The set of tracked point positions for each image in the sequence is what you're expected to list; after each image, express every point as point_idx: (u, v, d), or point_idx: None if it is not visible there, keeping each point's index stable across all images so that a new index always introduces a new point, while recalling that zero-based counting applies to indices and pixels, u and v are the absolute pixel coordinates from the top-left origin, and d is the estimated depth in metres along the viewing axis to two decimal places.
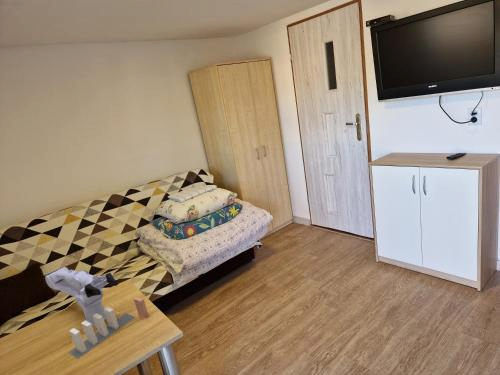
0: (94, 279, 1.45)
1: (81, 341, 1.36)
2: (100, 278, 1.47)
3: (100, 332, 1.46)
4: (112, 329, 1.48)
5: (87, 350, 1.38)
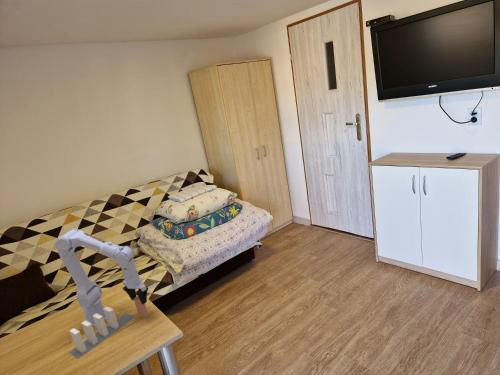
0: None
1: (81, 341, 1.36)
2: None
3: (100, 332, 1.46)
4: (112, 329, 1.48)
5: (87, 350, 1.38)
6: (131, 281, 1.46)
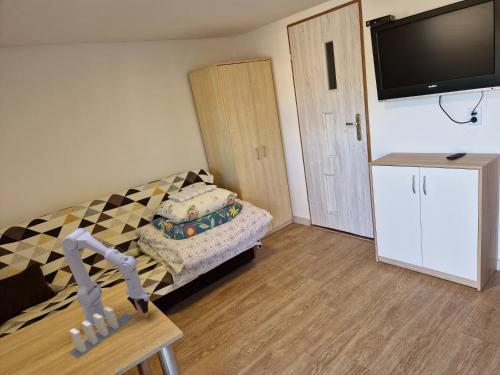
0: None
1: (81, 341, 1.36)
2: None
3: (100, 332, 1.46)
4: (112, 329, 1.48)
5: (87, 350, 1.38)
6: (134, 291, 1.48)
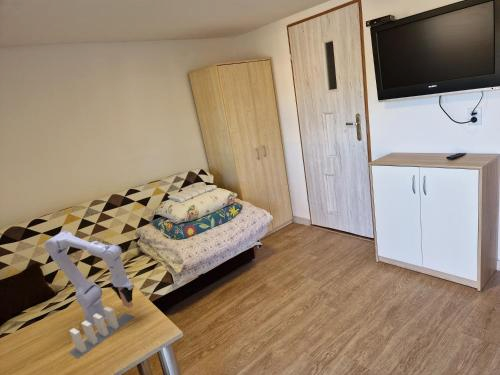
0: None
1: (81, 341, 1.36)
2: None
3: (100, 332, 1.46)
4: (112, 329, 1.48)
5: (87, 350, 1.38)
6: (117, 279, 1.46)
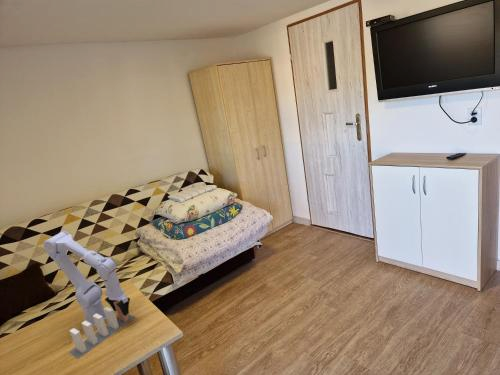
0: None
1: (81, 341, 1.36)
2: None
3: (100, 332, 1.46)
4: (112, 329, 1.48)
5: (87, 350, 1.38)
6: (112, 292, 1.47)
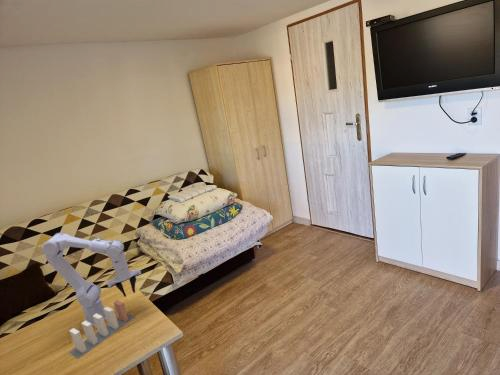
0: None
1: (81, 341, 1.36)
2: None
3: (100, 332, 1.46)
4: (112, 329, 1.48)
5: (87, 350, 1.38)
6: (127, 270, 1.52)
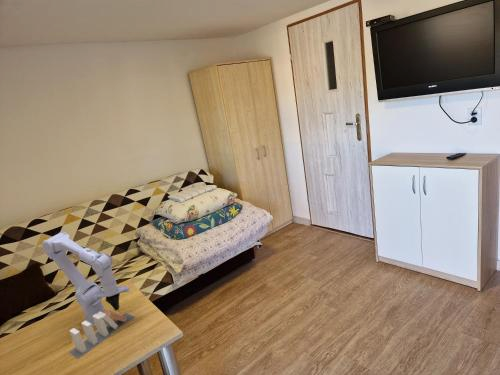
0: None
1: (81, 341, 1.36)
2: None
3: (100, 332, 1.45)
4: (112, 329, 1.48)
5: (87, 350, 1.38)
6: (113, 286, 1.46)
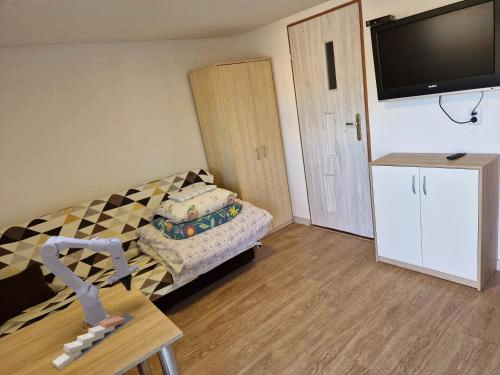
0: None
1: (69, 359, 1.33)
2: None
3: None
4: None
5: (87, 350, 1.38)
6: (127, 266, 1.56)
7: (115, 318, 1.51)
